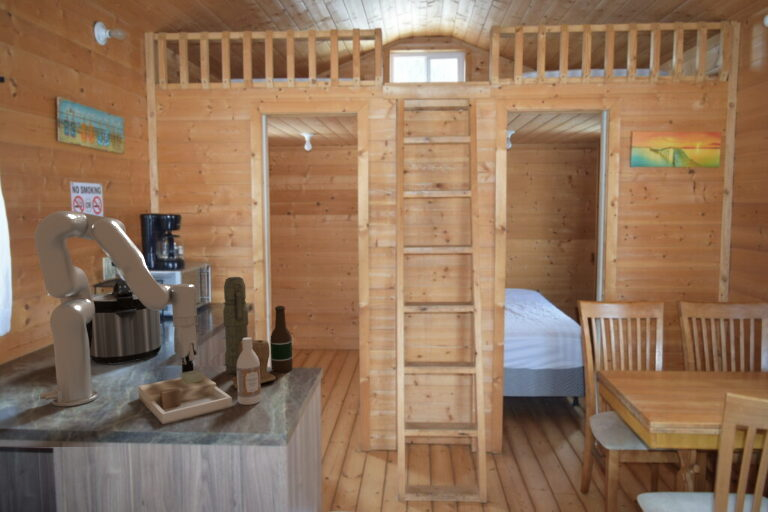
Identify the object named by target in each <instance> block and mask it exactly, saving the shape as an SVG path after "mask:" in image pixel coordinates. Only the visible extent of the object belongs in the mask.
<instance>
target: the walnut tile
mask: <svg viewBox="0 0 768 512" xmlns="http://www.w3.org/2000/svg"><path fill="white" fill-rule="evenodd" d="M160 395H161V408H162V409H163V410H165V409H169V408H173V407H177V406H181V399H180V389H179V388H173V389H169V390H164V391H160Z"/></svg>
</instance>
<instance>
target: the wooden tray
mask: <svg viewBox="0 0 768 512" xmlns="http://www.w3.org/2000/svg"><path fill="white" fill-rule="evenodd" d="M202 380H203V381H199V382H194V383H190V384H186V383H185V382H184V381H182V376H181V377H176V378H171V379H166V380H162V381H157V382H153V383H147V384H142V385H138V387H137V388H138V399H139V400H140V402H142V404H143V405H144V406H145V407H146V408H147V409H148V411H150V412H151V405H150V401H155V402H156V403H157V404H158V405H159V406H160V407H161V395H160V391H164V390H169V389H173V388H179V389H180V399H181V402H185V401H190V400H194V399H198V398H203V397H207V396H211V395H214V391H213V387H217V383H216V382H215V381H213V380H211V378H209V377H208V376H206V375H204V374H203V373H202Z"/></svg>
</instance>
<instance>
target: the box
mask: <svg viewBox="0 0 768 512" xmlns="http://www.w3.org/2000/svg"><path fill="white" fill-rule="evenodd" d="M213 391H214V395H211V396H207V397H203V398H198V399H194V400H190V401H185V402H181V406H177V407H173V408H169V409H165V410H163V409H162V408H161V407H160V406H159V405H158V404H157V403H156V402H155V401H150V405H151V411H150V412H151V413H152V415H153V416H155V418H157V419H158V420H157V421H159V422H160V423H161V424H162V425H166V424H171V423H176V422H178V421H182V420H186V419H190V418H191V419H192V418H194V417H198V416H202V415H206V414H209V413H214V412H218V411H222V410H225V409H230V408H233V396H231V395H229V394H228V393H226V392H225V391H223V390H222V389H221V388H219V387H218V386H216V387H213Z"/></svg>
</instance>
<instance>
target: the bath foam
mask: <svg viewBox="0 0 768 512" xmlns="http://www.w3.org/2000/svg"><path fill="white" fill-rule="evenodd" d="M252 340H253V338H252V337H249V336H248V337H247V338H243V339H242V345H243V351H242V352H241V354H240V356H239V358H238V360H237V374H236V376H237V388H236V390H237V403H239V404H240V405H243V406H249V405H255V404H258V403H260V401H261V399H262V391H261V390H262V388H261V387H262V386H261V384H260V363H259V359H258V357H257V355H256V353H255V352H254V351H253V350H252Z"/></svg>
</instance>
